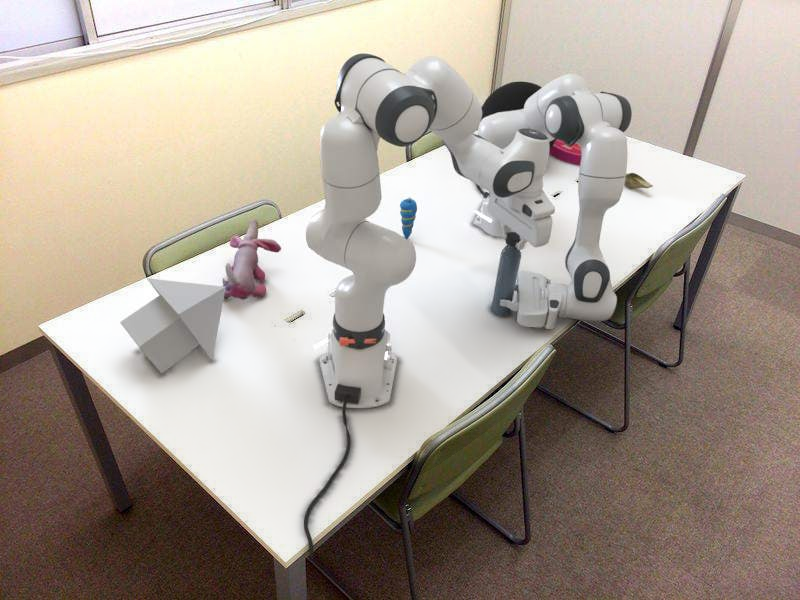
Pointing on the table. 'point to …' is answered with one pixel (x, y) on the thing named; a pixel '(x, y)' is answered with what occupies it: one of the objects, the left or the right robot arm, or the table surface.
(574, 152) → the sign
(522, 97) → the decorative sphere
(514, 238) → the cap
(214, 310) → the pyramid on cube
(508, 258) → the bottle
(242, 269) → the toy
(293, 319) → the table surface
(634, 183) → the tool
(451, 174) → the table surface
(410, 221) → the ornament
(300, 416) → the table surface
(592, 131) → the right robot arm
